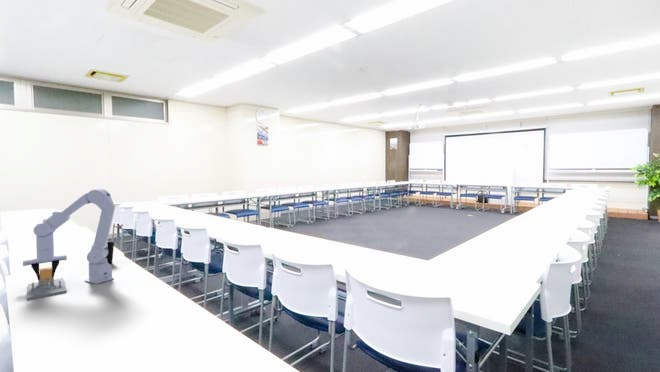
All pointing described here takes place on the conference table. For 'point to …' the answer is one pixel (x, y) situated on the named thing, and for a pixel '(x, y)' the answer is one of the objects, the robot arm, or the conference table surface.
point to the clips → (45, 284)
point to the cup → (110, 252)
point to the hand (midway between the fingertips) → (45, 278)
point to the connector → (46, 273)
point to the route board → (46, 289)
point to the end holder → (46, 282)
